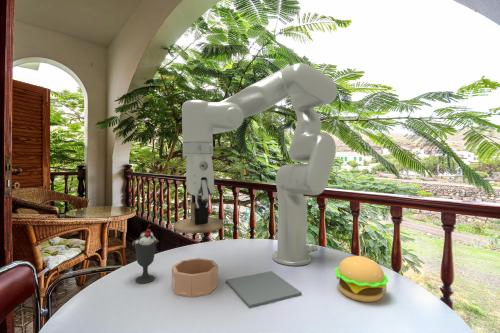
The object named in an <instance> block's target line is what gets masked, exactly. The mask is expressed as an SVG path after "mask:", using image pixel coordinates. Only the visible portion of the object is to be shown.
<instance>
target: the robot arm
mask: <svg viewBox="0 0 500 333" xmlns="http://www.w3.org/2000/svg"><path fill="white" fill-rule="evenodd" d="M337 95H338V88H337V85H336V83H335V81H334V80H333V79H332V78H331V77H330V76H328V75H327V74H325V73H323V72H322V71H320V70H318V69H317V68H315V67H313V66H311V65H309V64H307V63H304V62H296V63H294V64H291V65H289V66H287V67H284V68H281V69H279V70H277V71H275V72H273V73H271V74H270V75H268V76H266V77H264V78H262V79H260V80H258V81H255V82H254V83H253V84H251V85H248V86H246V87H245V88H243V89H241V90H240V91H238V92H236V93H235V94H233V95H231V96H229V97H227V98H225V99H223V100H221V101H219V102H217V101H215V102H211V101H208V100H207V101H206V100H202V99H188V100H186V101H184V102H183V103H182V106H181V117H182V118H181V125H182V126H181V129H182V131H181V132H182V134H181V136H182V157H186V164H185V165H186V166H185V168H186V170H185V172H186V174H185V175H186V176H185V178H186V179H185V180H186V182H185V183H186V191H187V193H188V194H190V204H191V203H195V202H196V208H194V209H195V224H196V225H199V224H207V223H208V217H209V214H208V213H209V210H208V209H209V208H208V207H209V204H208V201H209V199H210V197H209V196H213V195H214V194H215V180H214V179H215V177H214V166H213V158H212V157H213V156H214V146H213V145H214V142H213V140H214V139H213V138H214V137H213V135H216V134H221V133H227V132H229V133H230V132H232V131H235V130H238V129H239V128H240V127H241V126H242V124H243V123H244V119H245V118H249V117H251V116H254V115H258V114H260V113H263V112H265V111H267V110H269V109H270V108H272V107H273V106H274V105H276V104H278V103H279V102H282V101H283V100H285V99H286V98H288V97H290V99H289V100H290V104H291V106H292V109H293V110H294V112H295V115H296V120H297V121H296V125H295V126H296V127H295V129H294V133H293V134H292V138H291V142H290V145H289V149H288V156H289V158H290V159H291V160H292V161H293V162H297V163H288V164H284V165H282V166H281V167H279V168H278V170H277V171H276V174H275V185H276V191H277V192H276V193H277V205H278V206H277V244H276V246H277V249H276V251H274V252H273V253H272V259H273V261H275V262H277V263H279V264H280V265H281V264H282V265H284V266H291V267H292V266H294V267H296V266H297V267H298V266H299V267H300V266H305V265H308V264H310V263H311V261H312V256H311V255H310V253H311V252H312V253H314V252H317V251H318V250H319V248H318V245H311V246H310V244H307V237H308V236H307V234H308V232H307V230H308V228H307V227H308V204H307V201H306V200H307V199H306V198H305V196H304V195H307V196H308V195H309V196H318V195H320V194H322V193H323V192H324V191H325V190H326V188H327V185H328V182H329V179H330V176H331V172H332V169H333V165H334V161H335V157H336V152H337V147H336V145H337V144H336V142H335V139H334V137H333V136H332V135H331V134H329V133H326V132H322V131H321V130H322V120H321V118H320V116H319V114H318V112H317V111H316V110H315V108H317V107H321V106H327V105H329V104H332V103H333V102H335V100H336V99H337V98H336V97H337Z"/></svg>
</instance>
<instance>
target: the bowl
mask: <svg viewBox="0 0 500 333" xmlns="http://www.w3.org/2000/svg"><path fill="white" fill-rule="evenodd" d="M170 286H171V290H172V292H173V293H174V295H177V296H182V297H186V298H195V297H201V296H205V295H210V294H211V293H212V292H214V291H215V289H217V288H218V287H219V265H218V264H217V263H216V262H215V260H214V259H208V258H206V259H205V258H200V257H196V258H190V259H183V260H181V261H178V262H177V263H175V264H173V265H172V266H171V285H170Z"/></svg>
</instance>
